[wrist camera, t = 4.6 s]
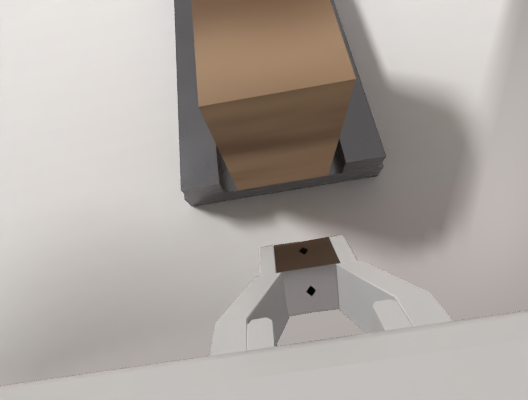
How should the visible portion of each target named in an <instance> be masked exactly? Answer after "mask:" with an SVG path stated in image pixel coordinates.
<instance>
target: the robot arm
mask: <svg viewBox="0 0 528 400" xmlns="http://www.w3.org/2000/svg"><path fill="white" fill-rule="evenodd" d="M259 269H260V276H256V277H255V278H254V279H253V280H252V281H251V282H250V284H249V285H248V286H247V287H246V288H245V289H244V291H243V292H242V293H241V294H240V295H239V296H238V298H237V299H236V300H235V301H234V302H233V303H232V304H231V306H230V307H229V308H228V309H227V310H226V311H225V313H224V314H223V315H222V316H221V317H220V318H219V320H218V321H217V322H216V323H215V326H214V332H213V338H212V345H211V350H210V356H205V357H199V358H191V359H185V360H177V361H170V362H163V363H156V364H149V365H142V366H135V367H128V368H121V369H114V370H107V371H100V372H93V373H86V374H79V375H72V376H65V377H58V378H51V379H44V380H38V381H30V382H23V383H16V384H9V385H3V386H0V400H528V310H525V311H518V312H512V313H505V314H498V315H491V316H484V317H477V318H470V319H463V320H456V321H453V320H452V319H451V318H450V317H449V316H448V314H447V313H446V312H445V311H444V309H443V308H442V307H441V306H440V304H439V303H438V302H437V301H436V300H435V298H434V297H433V296H432V294H431V293H430V292H428V291H426V290H424V289H421V288H419V287H417V286H415V285H413V284H411V283H409V282H407V281H405V280H403V279H401V278H399V277H396V276H394V275H392V274H390V273H388V272H386V271H384V270H382V269H380V268H378V267H376V266H373V265H371V264H369V263H367V262H365V261H363V260H359V261H358V260H357V258H356V256H355V255H354V253H353V251H352V249H351V248H350V246H349V244H348V242H347V241H346V239H345V237H344V235H342V234H340V235H335V236H330V237H325V238H320V239H314V240H309V241H303V242H293V243H286V244H279V245H274V246H273V245H271V246H265V247H260V248H259ZM336 309H340V311H341V312H342V313H343V314H344V315H346V316H347V317H348V318H349V319H350V320H351V321H353V322H354V323H355V324H356V325H357V326H358V327H359V328H361V329H362V330H363V331H364V332H365V334H358V335H351V336H344V337H337V338H330V339H323V340H317V341H310V342H303V343H296V344H289V345H282V346H277V342H278V340H279V338H280V336H281V334H282V332H283V330H284V328H285V325H286V323H287V321H288V319H289V316H295V315H300V314H306V313H312V312H319V311H328V310H336Z"/></svg>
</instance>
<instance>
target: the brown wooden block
mask: <svg viewBox="0 0 528 400" xmlns="http://www.w3.org/2000/svg"><path fill="white" fill-rule="evenodd" d="M191 3H192V17H193V32H194V47H195V61H196V76H197V91H198V105H199V109H200V111H201V113H202V115H203V117H204V119H205V121H206V124H207V126H208V128H209V130H210V132H211V134H212V136H213V139H214V141H215V143H216V145H217V147H218V149H219V151H220V153H221V156H222V158H223V160H224V162H225V164H226V166H227V168H228V171H229V173H230V175H231V177H232V179H233V181H234V183H235V186H236V188H237V190H244V189H250V188H256V187H262V186H268V185H274V184H280V183H286V182H292V181H298V180H304V179H310V178H316V177H322V176H328V175H329V171H330V168H331V164H332V161H333V157H334V154H335V151H336V147H337V144H338V140H339V137H340V133H341V130H342V126H343V123H344V119H345V116H346V112H347V109H348V106H349V102H350V99H351V95H352V92H353V88H354V85H355V81H356V77H355V74H354V71H353V68H352V65H351V62H350V59H349V56H348V53H347V50H346V47H345V44H344V41H343V38H342V35H341V32H340V29H339V26H338V23H337V20H336V17H335V13H334V10H333V7H332V4H331V1H330V0H191Z"/></svg>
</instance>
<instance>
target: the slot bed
mask: <svg viewBox="0 0 528 400" xmlns="http://www.w3.org/2000/svg"><path fill="white" fill-rule="evenodd" d="M330 1H331V4H332V7H333V10H334V13H335V17H336V20H337V23H338V26H339V29H340V32H341V35H342V38H343V41H344V44H345V47H346V50H347V53H348V56H349V59H350V62H351V65H352V68H353V71H354V74H355V77H356V81H355V85H354V88H353V92H352V95H351V99H350V102H349V106H348V109H347V112H346V116H345V119H344V123H343V126H342V130H341V133H340V137H339V140H338V144H337V147H336V151H335V154H334V157H333V161H332V164H331V168H330V171H329V175H328V176H322V177H316V178H310V179H304V180H298V181H292V182H286V183H280V184H274V185H268V186H262V187H256V188H250V189H244V190H237V188H236V186H235V183H234V181H233V179H232V177H231V175H230V173H229V171H228V168H227V166H226V164H225V162H224V160H223V158H222V156H221V153H220V151H219V149H218V147H217V145H216V143H215V141H214V139H213V136H212V134H211V132H210V130H209V128H208V126H207V124H206V121H205V119H204V117H203V115H202V113H201V111H200V109H199V105H198V91H197V76H196V61H195V47H194V32H193V17H192V3H191V0H174V8H175V36H176V63H177V91H178V119H179V147H180V175H181V191H182V192H183V193H184V197H185V200H186V201H187V202H188V203H189V204H190V205H191V206H197V205H203V204H209V203H215V202H221V201H227V200H233V199H239V198H245V197H251V196H258V195H264V194H270V193H276V192H282V191H288V190H294V189H300V188H306V187H312V186H318V185H324V184H331V183H337V182H343V181H349V180H355V179H361V178H367V177H373V176H377V175H378V174H379V172H380V171H381V169H382V168H383V163H382V162H383V160H384V158H385V157H386V155H385V152H384V149H383V146H382V143H381V140H380V137H379V134H378V131H377V128H376V125H375V122H374V119H373V116H372V113H371V110H370V107H369V104H368V101H367V99H366V96H365V93H364V90H363V87H362V84H361V81H360V78H359V75H358V72H357V69H356V66H355V63H354V60H353V57H352V54H351V51H350V48H349V45H348V42H347V39H346V36H345V33H344V31H343V28H342V25H341V22H340V19H339V16H338V13H337V10H336V7H335V4H334V1H333V0H330Z"/></svg>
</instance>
